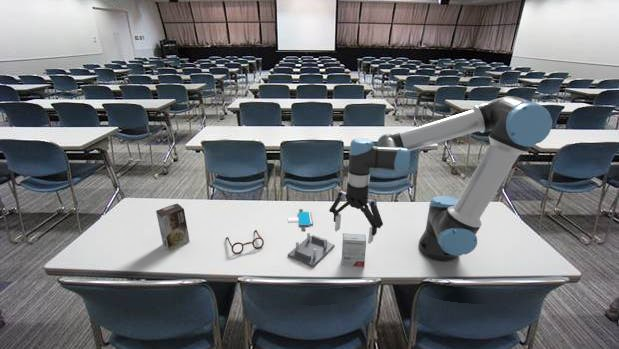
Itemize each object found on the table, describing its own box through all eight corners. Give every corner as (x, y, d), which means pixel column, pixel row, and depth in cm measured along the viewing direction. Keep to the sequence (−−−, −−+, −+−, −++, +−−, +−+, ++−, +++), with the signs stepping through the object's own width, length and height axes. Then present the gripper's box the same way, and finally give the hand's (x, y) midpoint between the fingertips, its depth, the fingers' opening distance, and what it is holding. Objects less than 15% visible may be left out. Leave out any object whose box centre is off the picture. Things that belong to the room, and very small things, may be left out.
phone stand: (287, 210, 163) (287, 207, 162) (311, 210, 164) (311, 207, 163) (288, 232, 145) (288, 229, 144) (315, 231, 146) (315, 228, 145)
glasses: (232, 256, 129) (231, 245, 127) (225, 239, 140) (224, 229, 138) (264, 247, 134) (263, 237, 132) (255, 232, 145) (254, 222, 143)
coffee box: (183, 235, 141) (177, 202, 135) (190, 242, 137) (184, 208, 131) (162, 244, 135) (155, 210, 129) (168, 251, 131) (161, 216, 125)
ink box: (363, 259, 127) (365, 233, 122) (364, 267, 122) (366, 241, 118) (341, 258, 127) (342, 232, 123) (341, 265, 123) (342, 239, 118)
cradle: (334, 246, 134) (334, 236, 132) (313, 267, 122) (313, 256, 120) (310, 237, 140) (310, 227, 138) (287, 256, 128) (287, 245, 126)
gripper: (396, 188, 109) (389, 242, 117) (332, 171, 121) (329, 221, 129) (388, 196, 103) (381, 252, 111) (321, 178, 115) (319, 229, 124)
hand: (353, 235), depth 120 cm, fingers open, 13 cm apart
